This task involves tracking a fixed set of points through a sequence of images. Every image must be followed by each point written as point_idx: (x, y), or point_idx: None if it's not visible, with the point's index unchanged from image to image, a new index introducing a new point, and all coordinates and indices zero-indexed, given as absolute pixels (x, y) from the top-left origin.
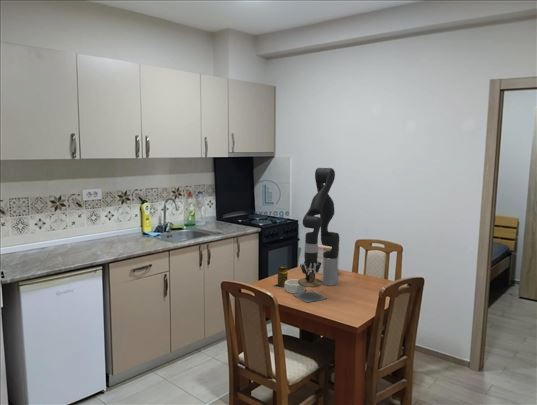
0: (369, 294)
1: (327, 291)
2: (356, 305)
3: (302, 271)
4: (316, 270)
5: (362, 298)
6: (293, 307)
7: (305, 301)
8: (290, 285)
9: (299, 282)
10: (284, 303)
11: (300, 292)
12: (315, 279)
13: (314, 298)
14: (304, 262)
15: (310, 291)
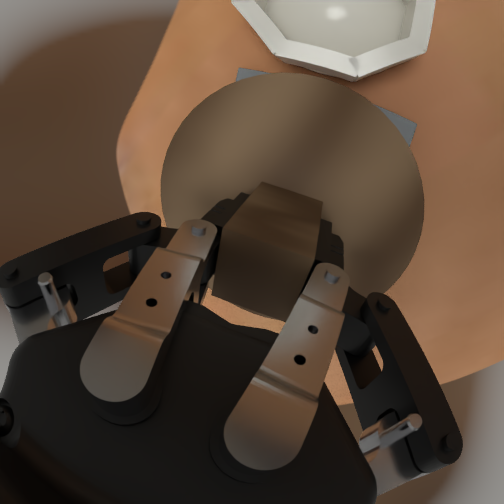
0: (493, 356)
1: (476, 204)
2: None
3: (113, 227)
4: (344, 351)
5: (443, 361)
6: (129, 207)
7: None
8: (239, 10)
9: (167, 162)
10: (122, 143)
11: (318, 72)
12: (391, 222)
13: None
14: (21, 360)
15: (394, 118)
